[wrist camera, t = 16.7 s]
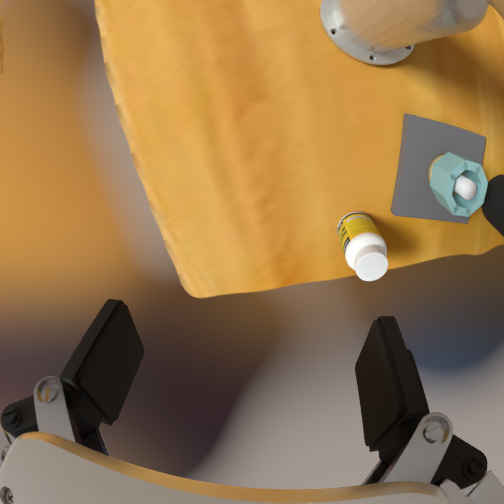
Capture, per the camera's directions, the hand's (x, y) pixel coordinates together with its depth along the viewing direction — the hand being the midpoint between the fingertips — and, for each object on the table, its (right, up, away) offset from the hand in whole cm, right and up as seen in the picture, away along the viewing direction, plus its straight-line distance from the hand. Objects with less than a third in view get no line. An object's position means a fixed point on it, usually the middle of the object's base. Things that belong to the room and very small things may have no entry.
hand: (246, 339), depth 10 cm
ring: (+26, +13, +18) cm, 35 cm away
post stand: (+27, +15, +21) cm, 37 cm away
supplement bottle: (+15, +7, +28) cm, 32 cm away
